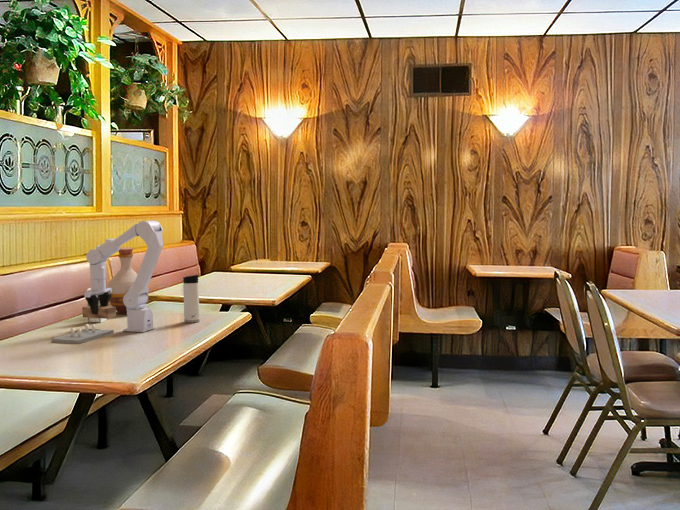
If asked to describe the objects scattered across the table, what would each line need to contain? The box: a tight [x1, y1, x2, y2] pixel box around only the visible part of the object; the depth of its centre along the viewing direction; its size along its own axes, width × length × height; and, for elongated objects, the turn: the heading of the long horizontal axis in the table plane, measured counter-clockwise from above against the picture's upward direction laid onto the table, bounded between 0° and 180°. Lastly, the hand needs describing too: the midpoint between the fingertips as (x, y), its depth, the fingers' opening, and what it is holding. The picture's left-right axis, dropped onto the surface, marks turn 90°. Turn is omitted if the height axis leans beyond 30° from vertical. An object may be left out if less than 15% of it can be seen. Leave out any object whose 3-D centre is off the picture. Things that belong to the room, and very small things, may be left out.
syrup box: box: [86, 287, 107, 324], centre depth 285 cm, size 6×6×14 cm
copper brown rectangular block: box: [81, 305, 117, 320], centre depth 268 cm, size 12×5×4 cm, turn 72°
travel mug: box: [182, 274, 200, 324], centre depth 282 cm, size 6×7×20 cm
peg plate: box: [51, 323, 115, 345], centre depth 252 cm, size 12×20×4 cm, turn 162°
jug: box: [106, 246, 138, 315], centre depth 308 cm, size 20×18×30 cm
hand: (99, 312), depth 268 cm, fingers closed on copper brown rectangular block, 5 cm apart
